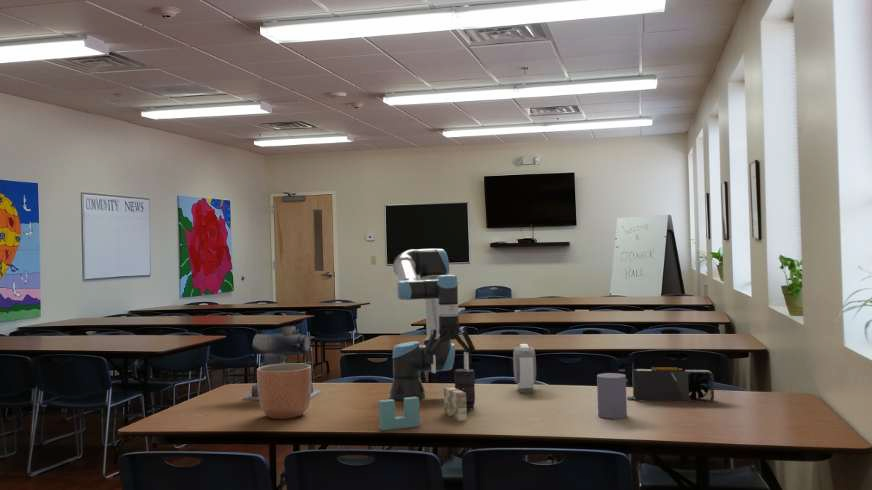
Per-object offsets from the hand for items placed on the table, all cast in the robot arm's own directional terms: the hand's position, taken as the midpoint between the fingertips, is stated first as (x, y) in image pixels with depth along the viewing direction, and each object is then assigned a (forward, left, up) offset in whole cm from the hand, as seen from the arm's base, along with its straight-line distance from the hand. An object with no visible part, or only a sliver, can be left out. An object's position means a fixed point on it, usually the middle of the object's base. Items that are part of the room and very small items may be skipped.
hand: (450, 371), depth 286 cm
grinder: (-71, -52, -17) cm, 90 cm away
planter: (-29, -58, -17) cm, 67 cm away
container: (+31, +51, -17) cm, 62 cm away
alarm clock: (-29, +47, -17) cm, 57 cm away
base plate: (+10, -24, -16) cm, 31 cm away
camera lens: (-8, +9, -17) cm, 21 cm away
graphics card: (+19, +87, -17) cm, 90 cm away
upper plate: (+4, 0, -16) cm, 17 cm away
